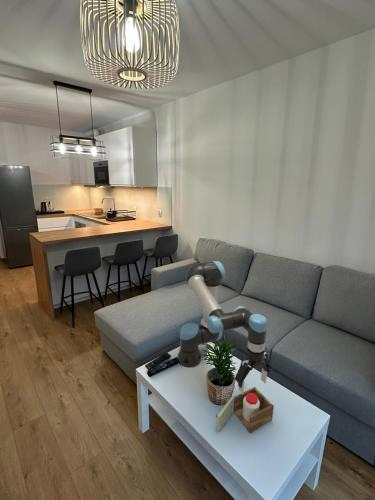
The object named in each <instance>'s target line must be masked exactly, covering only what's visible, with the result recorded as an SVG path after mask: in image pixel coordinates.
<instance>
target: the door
mask: <svg viewBox="0 0 375 500" xmlns="http://www.w3.org/2000/svg"><path fill="white" fill-rule="evenodd" d="M233 403H234V397H232V396H231V397H230V398H228V400H227V402H226V403H225V405H224V406H223V407H222V409H221V410H220V411H219V412H218V413H216V415H215V417H216V419H217V420H216V431H217V432H220V431H221V430H222V429H223V427H224V425H225V424H226V422H227V420H229V418H230V417H231V415H232V414H233Z"/></svg>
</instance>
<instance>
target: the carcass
mask: <svg viewBox="0 0 375 500" xmlns="http://www.w3.org/2000/svg"><path fill="white" fill-rule="evenodd" d="M248 393H254V394H256V395H257V397H258V400H259V402H260V407H259V412H257V413H255V414H253V415H251V416H250V422H248V421H247V420H245V419H244V417H243V415H242V411H243V399H244V397H245V396H246V395H247V394H248ZM274 406H275V405H273V403H271V401H269V400H268V399H267V398H266V396H264V394H263V393H262V392H261V391H260V390H259V389H258V388H257V387H256V386H254V387H251V388H250V389H248V390H244V394H242V393H241V392H240V394H237V395H235V396H233V411H232V413H234V415H235V416H236V417H237V418H238V419H239V421H240V422H241V423H242V424H243V425H244V427H245V428H246V430H247V431H248V432H249V434H251V433H253V432H255V431H256V430H259V429H260V428H262V427H264V426H265V425H268V423H271V422H272V421H273V415H274Z"/></svg>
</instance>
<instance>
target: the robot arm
mask: <svg viewBox="0 0 375 500" xmlns="http://www.w3.org/2000/svg"><path fill="white" fill-rule="evenodd" d="M225 279H226V270H225V267H224V264H223V263H221V261H218V260H212V261H205V262H198V263H197V262H196V263H194V264H192V265H191V266H189V267H188V269H187V270H186V273H185V283H186V285H187V287H188V288H189V289H190V290H192V292H193V293H194V295H195V296H196V299H197V301H198V302H199V304H200V305H201V307H202V309H203V312H202V318H201V320H200V324H197V323H195V322H189V323H186V324H183V325H182V326H181V328H180V330H179V331H180V332H179V338H180V339H179V344H180V345H179V348H180V349H179V351H178V354H177V360H178V359H179V362H180V363H179V362H178V363H179V365H180V366H183V367H186V368H193V367H197V366H198V365H200V363H201V362H202V354H201V351H200V348H199V346H200V345H203V344H205V345H206V344H208V343H213V342H217V341H220V339H221V338H222V336H223V332H225V331H229V330H234V329H239V328H243V329H244V330H246V331H247V346H246V357H247V358H246V360H244V359H241V362H240V366H239V368H238V370H237V372H236V375H235V377H234V380H235V382H237V385H238V391H239V392H240V394H241V393H242V394H244V392H245V379H246V378H247V376H248V375H249V373H250V372H251V371H252V370H253V369H254V368H255V367H258V366H259V365H260V366H261V367H262V368H261V373H260V374H261V375H260V380H261V381H262V382H263V384H266V383H267V377H268V373H270V371H271V369H272V368H273V367H272V364H271V361H270V359H269V354H268V353H267V352H266V351H265V347H266V337H267V330H268V320H267V318H266V317H265V316H264V315H261V314H259V313H252V312H251V311H250V310H249V308H247V307H245V306H243V305H239V306H237V307H235V308H234V309H233V310H232V311H231V312H224V310H223V309H222V308H221V306H220V304H219V302H218V301H219V300H218V299H219V297H218V296H219V287H221V285H222V281H224V280H225ZM263 361H264V362H263Z"/></svg>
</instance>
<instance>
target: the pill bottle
mask: <svg viewBox="0 0 375 500" xmlns="http://www.w3.org/2000/svg"><path fill="white" fill-rule="evenodd" d="M259 407H260V402H259V400H258V397H257V395H256V394H254V393H248V394H247V395H246V396H245V397H244V399H243V411H242V415H243V417H244V419H245V420H247V421H248V422H250V416H251V415H253V414H255V413H257V412H259Z"/></svg>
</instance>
